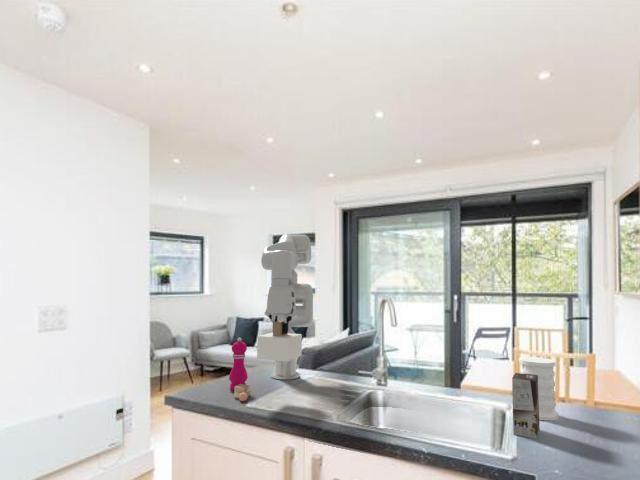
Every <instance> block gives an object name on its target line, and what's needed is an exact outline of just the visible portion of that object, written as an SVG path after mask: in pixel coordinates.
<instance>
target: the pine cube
mask: <svg viewBox="0 0 640 480" xmlns="http://www.w3.org/2000/svg"><path fill="white" fill-rule="evenodd" d="M250 386H251V385H249V384H246V385H243V384H240V385H237V386H235V387H234V390H233V391H234V392H233V393H234V394H233V398H234V397H235V399H239V395H240V394H241V393H243V392H245V393H246V394H247V396H248V397H249V396H250Z"/></svg>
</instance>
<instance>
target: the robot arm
mask: <svg viewBox="0 0 640 480" xmlns="http://www.w3.org/2000/svg"><path fill="white" fill-rule="evenodd" d="M260 259H261V261H260V262H261V266H262V268H263V269H264V270H265V271H266V270H267V271H271V279H270V280H271V281H270V282H271V283H270V284H271V286H270V287H269V290H268V292H267V293H268V294H267V301H266V309H265V311H264V315H265V316H266V317H268V318H269V319H270V321H271V323H272V324H273V322H275V321H280V320H282V321H284V323H283V324H282V334H287V333H292V334H296V332H295V331H294V330H293V328H294V327H295V328H307V327H311V325H312V324H313V321H314V292H313V290H314V289H313V288H312V285H311V284H309V283H298V272H296V268H297V267H298V265H306V264H309V263H310V262H311V260H312V242H311V239H310V237H309V236H308V235H307V234H293V233H292V234H290V233H289V234H284V235H282V236H281V237H280V238H279V240H278V242H276V243H275V244H271V245H270V244H269V245H268V246H266V247H265V248H264V250H263V252H262V255H261V258H260ZM292 327H293V328H292ZM274 365H275V366H274V372H272V373H271V375H270V376H271V378H273V379H274V380H282V381H283V380H285V381H286V380H294V379H298V378H300V373H299V372H298V371H297V369H299V367H300V366H299V364H297V358H295V359H293V360H290V361H288V362H284V361H274Z"/></svg>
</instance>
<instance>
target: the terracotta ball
mask: <svg viewBox="0 0 640 480" xmlns="http://www.w3.org/2000/svg"><path fill="white" fill-rule="evenodd" d="M248 397H249V396H247V394H246V393H245V392H243V393H241V394H240V395H239V398H238V399H239V401H241V402H246V401H247V399H248Z"/></svg>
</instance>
